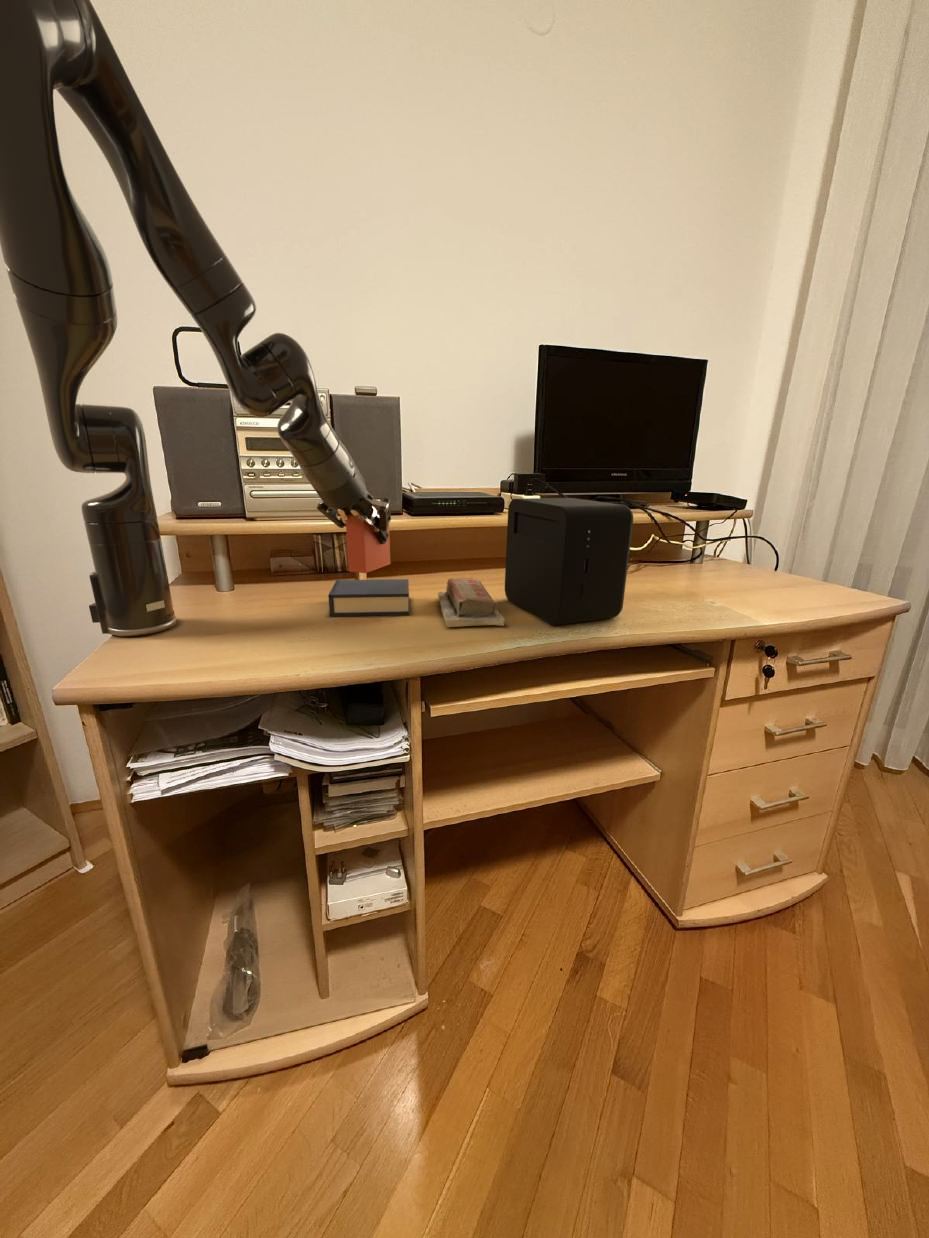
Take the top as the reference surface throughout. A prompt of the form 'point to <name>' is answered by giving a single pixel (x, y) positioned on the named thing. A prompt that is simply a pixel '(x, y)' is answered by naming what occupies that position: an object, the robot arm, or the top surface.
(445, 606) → the packaged product
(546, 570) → the black nas enclosure
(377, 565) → the red rectangular block
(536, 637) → the top surface
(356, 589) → the big book
